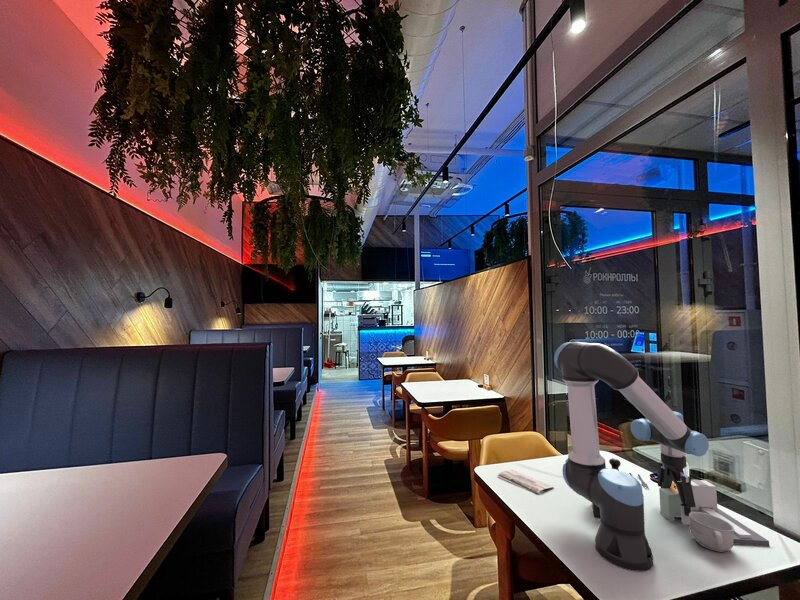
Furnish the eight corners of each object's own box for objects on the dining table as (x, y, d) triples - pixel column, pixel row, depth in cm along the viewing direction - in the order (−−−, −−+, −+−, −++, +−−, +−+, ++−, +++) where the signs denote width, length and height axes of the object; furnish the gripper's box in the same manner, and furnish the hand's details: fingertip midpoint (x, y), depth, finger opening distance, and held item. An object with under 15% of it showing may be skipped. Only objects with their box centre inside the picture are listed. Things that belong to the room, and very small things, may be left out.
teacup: (690, 531, 118) (688, 507, 119) (733, 544, 111) (732, 518, 112) (690, 552, 107) (689, 525, 108) (739, 567, 100) (737, 539, 101)
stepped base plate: (728, 543, 112) (726, 509, 112) (673, 502, 137) (671, 475, 138) (769, 545, 110) (766, 511, 111) (705, 504, 136) (704, 476, 137)
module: (669, 520, 125) (668, 494, 126) (660, 512, 130) (659, 487, 131) (693, 521, 124) (691, 495, 125) (683, 514, 129) (681, 488, 130)
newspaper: (495, 478, 161) (496, 472, 161) (513, 474, 167) (513, 469, 168) (538, 498, 142) (538, 491, 142) (555, 493, 148) (556, 487, 149)
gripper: (706, 465, 118) (711, 534, 116) (664, 444, 139) (667, 501, 138) (683, 465, 118) (687, 533, 117) (644, 443, 140) (647, 501, 138)
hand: (676, 516), depth 127 cm, fingers open, 9 cm apart
